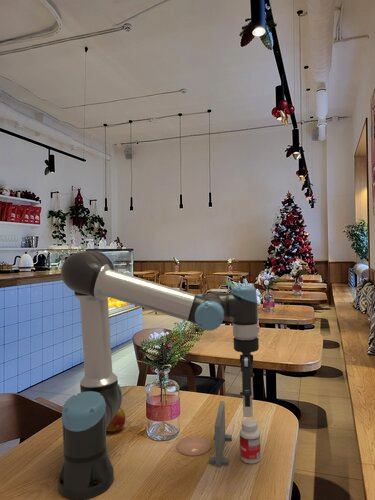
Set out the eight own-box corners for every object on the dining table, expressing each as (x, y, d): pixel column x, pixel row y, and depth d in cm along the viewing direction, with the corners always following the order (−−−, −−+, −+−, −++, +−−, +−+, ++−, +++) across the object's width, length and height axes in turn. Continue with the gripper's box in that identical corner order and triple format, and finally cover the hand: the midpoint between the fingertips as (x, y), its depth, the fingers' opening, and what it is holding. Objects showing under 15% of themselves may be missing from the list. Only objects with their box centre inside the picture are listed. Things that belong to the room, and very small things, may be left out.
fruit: (130, 425, 140) (129, 403, 140) (119, 437, 131) (118, 414, 131) (106, 422, 142) (105, 401, 142) (94, 434, 133) (93, 411, 133)
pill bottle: (238, 453, 118) (237, 418, 118) (257, 452, 119) (256, 417, 119) (243, 465, 112) (242, 428, 112) (263, 463, 113) (262, 426, 113)
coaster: (208, 457, 117) (208, 455, 117) (173, 454, 119) (173, 452, 119) (212, 439, 128) (212, 437, 128) (180, 437, 130) (180, 435, 130)
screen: (228, 467, 111) (227, 426, 111) (208, 465, 112) (206, 425, 112) (232, 436, 129) (231, 401, 129) (214, 435, 130) (213, 400, 130)
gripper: (258, 348, 102) (261, 426, 102) (258, 327, 126) (260, 390, 127) (230, 348, 103) (233, 425, 103) (235, 327, 128) (237, 390, 128)
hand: (248, 406), depth 115 cm, fingers open, 13 cm apart
